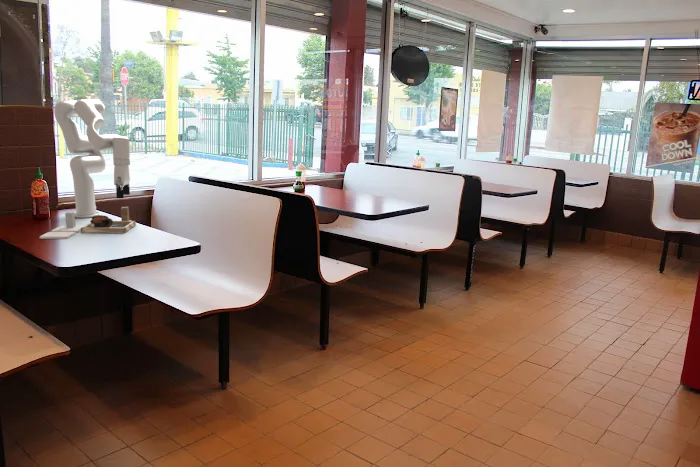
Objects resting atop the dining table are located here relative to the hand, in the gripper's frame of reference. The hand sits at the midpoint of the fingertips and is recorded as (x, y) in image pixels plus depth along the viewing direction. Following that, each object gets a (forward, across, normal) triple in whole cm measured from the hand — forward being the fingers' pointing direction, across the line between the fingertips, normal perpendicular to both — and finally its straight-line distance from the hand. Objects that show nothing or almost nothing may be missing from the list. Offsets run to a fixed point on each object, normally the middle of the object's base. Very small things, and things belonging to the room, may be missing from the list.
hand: (123, 196), depth 295 cm
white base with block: (+14, +23, -20) cm, 34 cm away
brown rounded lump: (+14, +16, -5) cm, 22 cm away
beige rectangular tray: (+13, +10, -3) cm, 17 cm away
